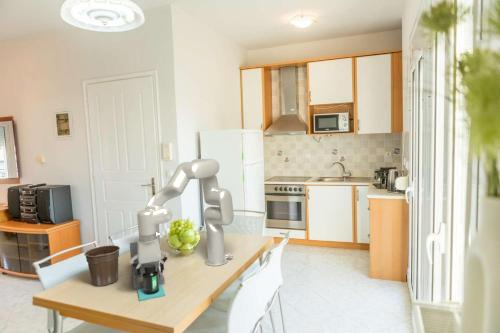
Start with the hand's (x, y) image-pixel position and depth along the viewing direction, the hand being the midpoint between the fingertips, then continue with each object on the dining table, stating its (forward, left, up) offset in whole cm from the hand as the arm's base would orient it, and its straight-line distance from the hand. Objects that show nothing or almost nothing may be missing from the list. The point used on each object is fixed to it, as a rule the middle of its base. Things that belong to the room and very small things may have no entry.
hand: (150, 274), depth 152 cm
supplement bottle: (0, 0, -8) cm, 8 cm away
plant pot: (+20, -25, -9) cm, 33 cm away
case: (0, -17, -9) cm, 19 cm away
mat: (0, 0, -9) cm, 9 cm away
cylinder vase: (-6, -65, -9) cm, 66 cm away
